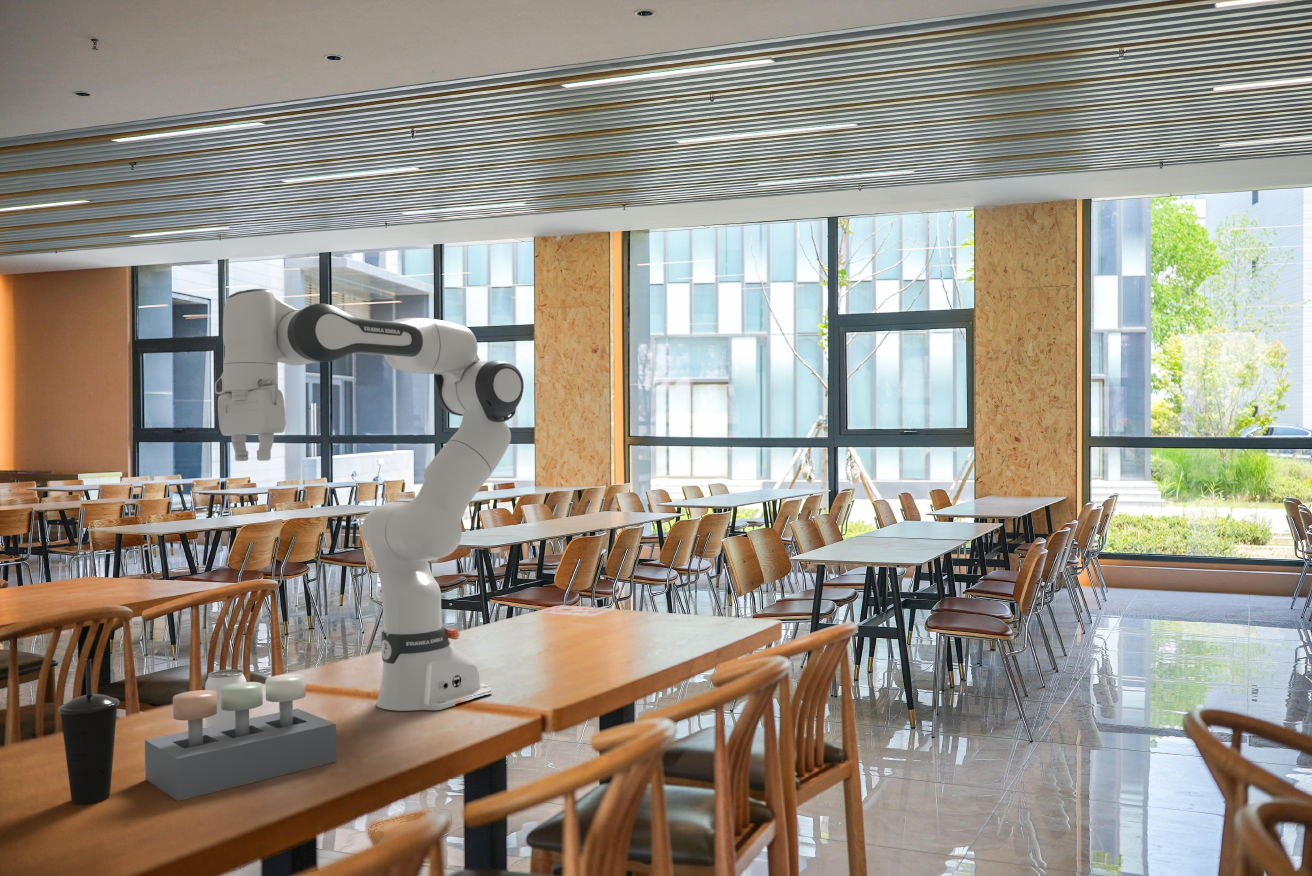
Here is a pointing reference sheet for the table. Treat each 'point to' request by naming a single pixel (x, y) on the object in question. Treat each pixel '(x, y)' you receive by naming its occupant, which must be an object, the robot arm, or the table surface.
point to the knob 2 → (285, 694)
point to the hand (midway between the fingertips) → (252, 460)
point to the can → (215, 684)
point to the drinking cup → (89, 743)
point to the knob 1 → (195, 712)
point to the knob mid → (241, 703)
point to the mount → (238, 754)
